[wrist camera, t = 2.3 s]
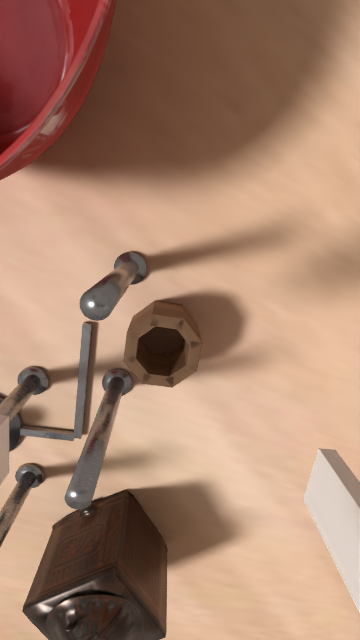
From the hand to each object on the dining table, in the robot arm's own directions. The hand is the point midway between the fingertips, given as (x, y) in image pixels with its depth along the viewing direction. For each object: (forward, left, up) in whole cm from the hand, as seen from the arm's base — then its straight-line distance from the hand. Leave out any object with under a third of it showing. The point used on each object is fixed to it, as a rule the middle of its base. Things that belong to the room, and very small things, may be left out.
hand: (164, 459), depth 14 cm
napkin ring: (0, -1, -19) cm, 19 cm away
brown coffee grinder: (-5, -29, -19) cm, 35 cm away
